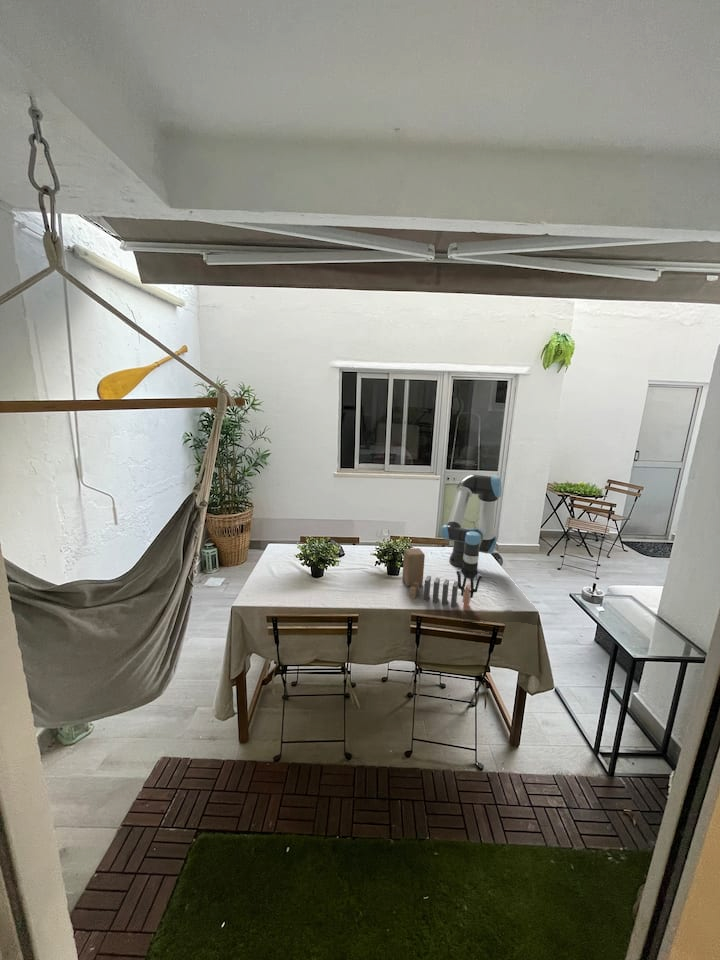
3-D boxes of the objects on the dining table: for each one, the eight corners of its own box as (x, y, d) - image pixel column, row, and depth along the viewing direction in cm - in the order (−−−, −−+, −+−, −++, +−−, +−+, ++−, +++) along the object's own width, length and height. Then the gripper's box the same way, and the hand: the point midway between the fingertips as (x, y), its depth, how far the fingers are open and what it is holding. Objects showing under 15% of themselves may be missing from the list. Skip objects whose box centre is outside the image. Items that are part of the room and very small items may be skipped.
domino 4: (450, 606, 218) (452, 586, 216) (452, 601, 224) (454, 581, 221) (454, 607, 218) (456, 586, 215) (456, 601, 223) (458, 581, 220)
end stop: (413, 591, 233) (414, 581, 232) (418, 592, 232) (419, 582, 230) (409, 597, 226) (410, 587, 224) (414, 599, 225) (415, 589, 223)
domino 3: (441, 604, 220) (443, 584, 217) (443, 599, 226) (445, 579, 223) (445, 605, 219) (446, 584, 217) (447, 599, 225) (449, 580, 222)
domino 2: (432, 602, 222) (433, 582, 219) (434, 597, 227) (436, 577, 225) (435, 602, 221) (437, 582, 218) (438, 597, 227) (439, 578, 224)
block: (406, 587, 237) (408, 555, 233) (401, 579, 247) (403, 548, 242) (423, 585, 239) (425, 554, 235) (417, 578, 249) (419, 547, 244)
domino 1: (423, 600, 224) (424, 580, 221) (425, 595, 229) (427, 575, 226) (426, 600, 223) (428, 580, 220) (429, 595, 229) (430, 576, 226)
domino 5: (463, 609, 216) (465, 589, 213) (464, 604, 221) (466, 584, 218) (466, 610, 215) (469, 589, 212) (468, 604, 221) (470, 584, 218)
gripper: (454, 561, 211) (450, 602, 217) (485, 567, 206) (480, 608, 211) (456, 555, 218) (453, 595, 224) (486, 561, 213) (482, 601, 218)
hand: (466, 601), depth 218 cm, fingers open, 2 cm apart
